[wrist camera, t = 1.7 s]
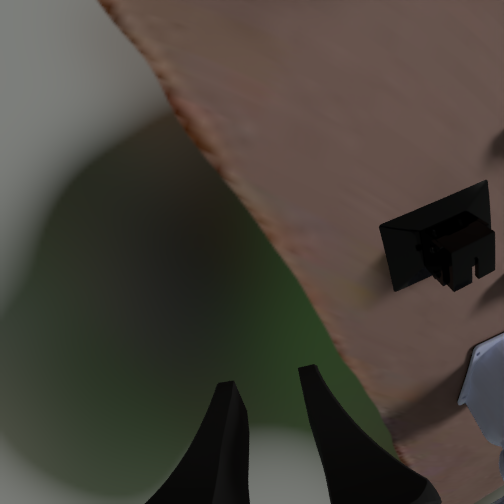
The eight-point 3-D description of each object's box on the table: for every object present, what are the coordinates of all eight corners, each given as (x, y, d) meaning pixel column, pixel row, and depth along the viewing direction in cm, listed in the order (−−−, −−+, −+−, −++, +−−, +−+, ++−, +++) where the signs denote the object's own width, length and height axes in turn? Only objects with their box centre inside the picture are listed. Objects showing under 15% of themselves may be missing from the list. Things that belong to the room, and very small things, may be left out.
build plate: (372, 304, 23) (395, 344, 18) (349, 215, 20) (375, 246, 15) (500, 244, 21) (534, 270, 17) (493, 159, 18) (536, 175, 14)
